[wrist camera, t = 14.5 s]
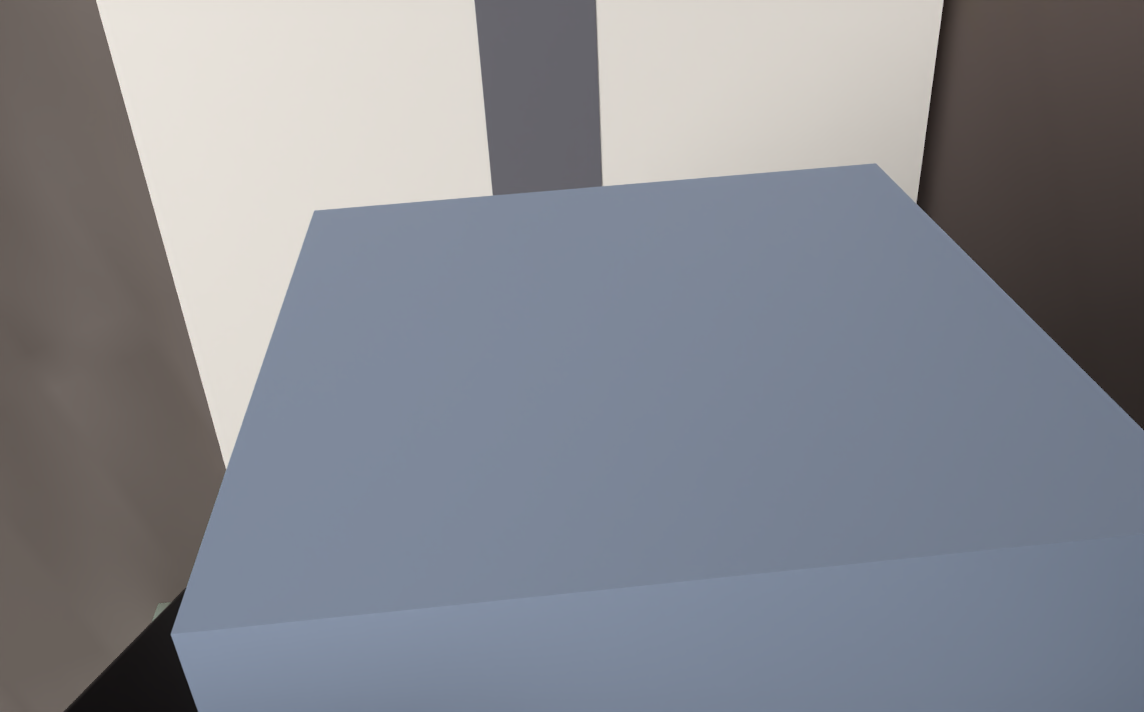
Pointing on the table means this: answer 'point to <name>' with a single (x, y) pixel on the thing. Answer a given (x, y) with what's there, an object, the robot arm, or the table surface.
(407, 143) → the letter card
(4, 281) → the table surface
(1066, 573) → the slate cube
